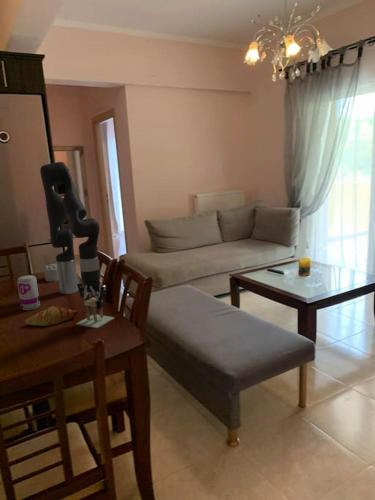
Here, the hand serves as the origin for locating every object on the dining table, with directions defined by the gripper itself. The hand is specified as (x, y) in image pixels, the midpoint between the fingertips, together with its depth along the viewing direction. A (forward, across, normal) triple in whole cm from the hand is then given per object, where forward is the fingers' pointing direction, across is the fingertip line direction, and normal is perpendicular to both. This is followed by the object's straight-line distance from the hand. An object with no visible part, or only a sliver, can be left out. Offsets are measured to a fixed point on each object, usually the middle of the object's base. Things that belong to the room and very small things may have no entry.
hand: (94, 307), depth 154 cm
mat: (+6, 0, 0) cm, 6 cm away
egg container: (+6, +69, -43) cm, 82 cm away
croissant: (+6, +18, +6) cm, 20 cm away
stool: (+5, 0, 0) cm, 5 cm away
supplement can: (+6, +41, -2) cm, 41 cm away
